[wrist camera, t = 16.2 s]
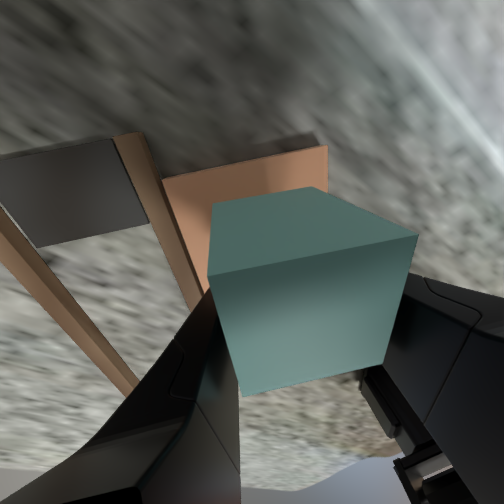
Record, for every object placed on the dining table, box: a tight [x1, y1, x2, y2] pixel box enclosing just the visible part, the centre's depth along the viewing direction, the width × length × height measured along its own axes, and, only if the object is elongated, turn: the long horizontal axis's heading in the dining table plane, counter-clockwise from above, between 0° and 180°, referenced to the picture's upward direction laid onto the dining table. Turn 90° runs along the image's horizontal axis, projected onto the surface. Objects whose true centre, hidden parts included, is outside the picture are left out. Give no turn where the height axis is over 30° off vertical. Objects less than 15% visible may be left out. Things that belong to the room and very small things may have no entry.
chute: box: [0, 132, 204, 398], centre depth 13 cm, size 8×18×1 cm, turn 10°
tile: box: [162, 145, 328, 293], centre depth 12 cm, size 8×8×1 cm
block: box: [207, 186, 419, 397], centre depth 7 cm, size 4×4×5 cm
